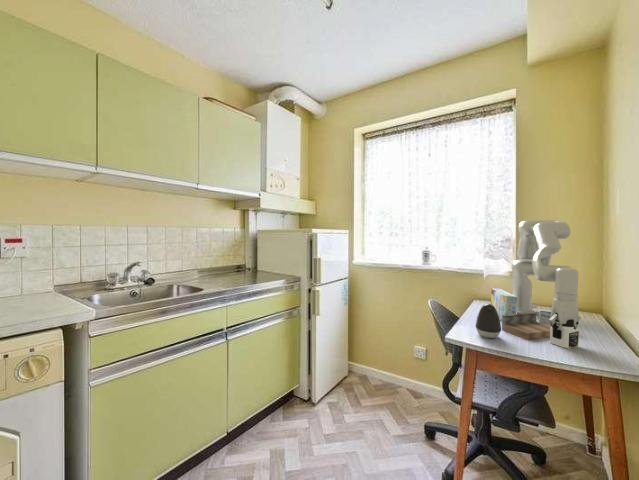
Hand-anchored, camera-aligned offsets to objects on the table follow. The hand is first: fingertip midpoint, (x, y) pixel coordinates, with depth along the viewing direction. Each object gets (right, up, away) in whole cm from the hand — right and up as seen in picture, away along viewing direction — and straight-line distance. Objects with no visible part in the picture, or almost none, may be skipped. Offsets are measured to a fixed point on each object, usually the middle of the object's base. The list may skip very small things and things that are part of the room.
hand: (564, 337), depth 124 cm
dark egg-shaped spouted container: (-27, -3, +10) cm, 29 cm away
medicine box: (+11, -3, +22) cm, 24 cm away
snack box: (-3, -2, +37) cm, 37 cm away
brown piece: (-4, -3, +14) cm, 15 cm away
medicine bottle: (0, -4, 0) cm, 4 cm away
